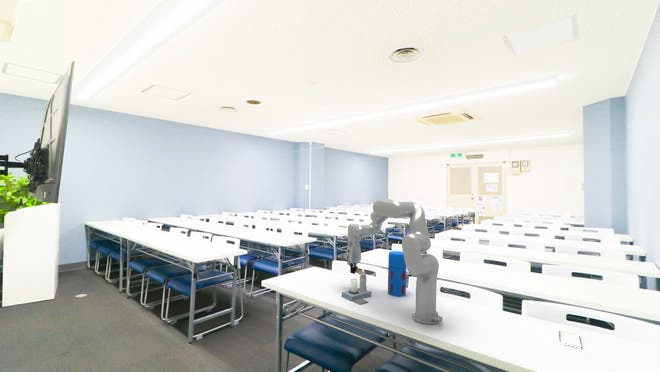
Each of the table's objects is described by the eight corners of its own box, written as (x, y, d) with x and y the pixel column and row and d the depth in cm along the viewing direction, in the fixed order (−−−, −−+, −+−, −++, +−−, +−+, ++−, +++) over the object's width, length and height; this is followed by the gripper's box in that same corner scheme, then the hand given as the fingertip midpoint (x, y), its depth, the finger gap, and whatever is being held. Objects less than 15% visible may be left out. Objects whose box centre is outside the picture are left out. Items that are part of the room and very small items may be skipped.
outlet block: (370, 296, 173) (371, 277, 173) (351, 301, 164) (352, 281, 164) (360, 291, 180) (361, 274, 180) (341, 296, 171) (342, 277, 172)
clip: (366, 276, 174) (366, 272, 174) (361, 276, 173) (361, 272, 173) (358, 270, 188) (358, 266, 188) (353, 270, 187) (353, 266, 188)
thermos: (404, 291, 183) (405, 251, 184) (407, 297, 172) (408, 255, 173) (386, 290, 184) (387, 250, 185) (388, 296, 173) (389, 254, 174)
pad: (368, 302, 163) (368, 301, 163) (360, 304, 159) (360, 303, 159) (360, 299, 167) (360, 298, 168) (352, 301, 164) (352, 300, 164)
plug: (359, 297, 170) (359, 280, 170) (353, 299, 168) (353, 281, 168) (354, 294, 174) (354, 278, 174) (348, 296, 172) (348, 279, 172)
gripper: (350, 246, 176) (350, 276, 176) (365, 243, 187) (364, 272, 187) (341, 244, 181) (340, 274, 181) (356, 241, 192) (355, 269, 192)
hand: (353, 273), depth 184 cm, fingers closed
